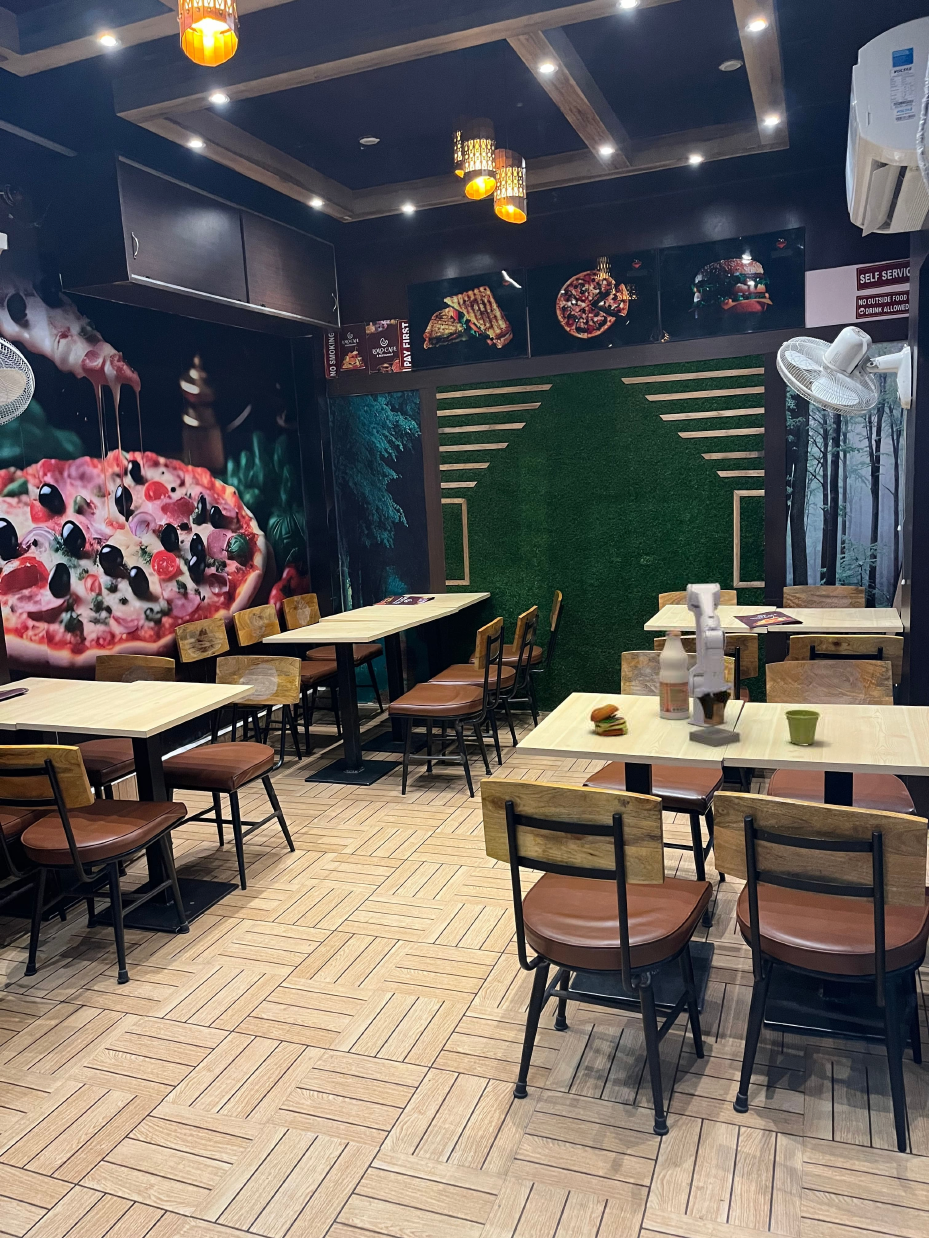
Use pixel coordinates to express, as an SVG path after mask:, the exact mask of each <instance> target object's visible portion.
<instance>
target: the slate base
mask: <svg viewBox="0 0 929 1238" xmlns="http://www.w3.org/2000/svg"><path fill="white" fill-rule="evenodd" d="M688 733H689V736H688V737H689V739H688V741H689V742H692V743H693V742H694V743H698V744H701V745H704V746H708V747H709V746H710V747H713V748H718V747H722V746H727V745H731V744H735V743H739V742H741V740H740V739H741V737H740V735H741V733H740V732H739V731H733V730H729V729H725V728H720V727H716V726H709V727H704V728H702V729H695V730H692V731H689V732H688Z"/></svg>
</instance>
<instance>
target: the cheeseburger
mask: <svg viewBox="0 0 929 1238" xmlns="http://www.w3.org/2000/svg"><path fill="white" fill-rule="evenodd" d="M618 711H620V708H619V707H618V706H617V705H615V704H612V703H607V704H606V705H603V706H601V707H597V708H594V709H593V710H592V711H591V714H590V716H589V719H590V722H592V723H593V725H594V730H595V731H596V733H597V734H598V735H600V736H604V737H605V736H606V737H608V736H615V735H626V734H627V733H628V731H629V728H628V727H627V726H628V725H627V722H628V721H627V720H626V718H625V717H623V716H618V714H619V713H616V712H618Z"/></svg>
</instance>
